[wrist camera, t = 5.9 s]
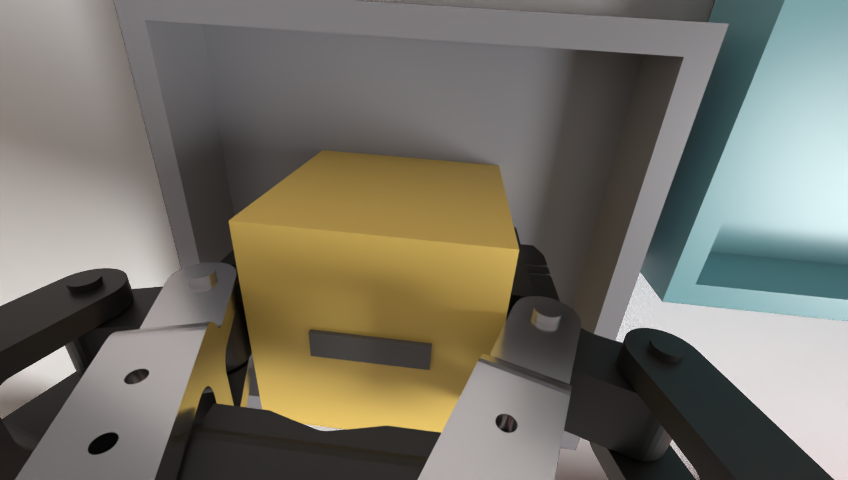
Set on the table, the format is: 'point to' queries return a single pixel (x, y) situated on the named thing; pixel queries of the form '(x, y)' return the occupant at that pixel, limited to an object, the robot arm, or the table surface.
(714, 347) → the table surface
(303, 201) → the marked block
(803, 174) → the tray
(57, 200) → the table surface
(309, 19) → the tray
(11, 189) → the table surface
